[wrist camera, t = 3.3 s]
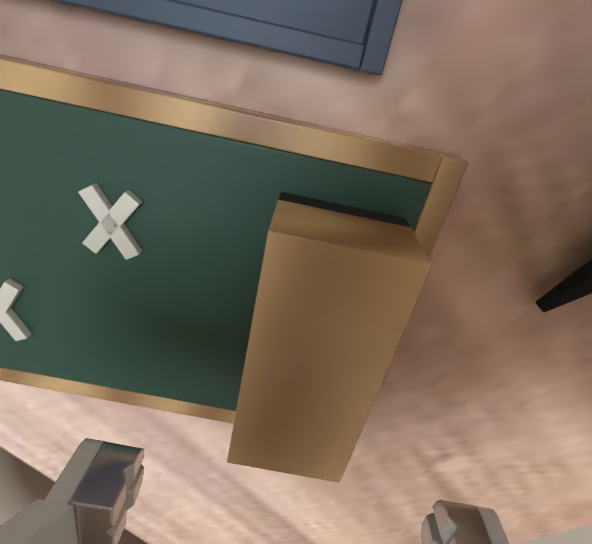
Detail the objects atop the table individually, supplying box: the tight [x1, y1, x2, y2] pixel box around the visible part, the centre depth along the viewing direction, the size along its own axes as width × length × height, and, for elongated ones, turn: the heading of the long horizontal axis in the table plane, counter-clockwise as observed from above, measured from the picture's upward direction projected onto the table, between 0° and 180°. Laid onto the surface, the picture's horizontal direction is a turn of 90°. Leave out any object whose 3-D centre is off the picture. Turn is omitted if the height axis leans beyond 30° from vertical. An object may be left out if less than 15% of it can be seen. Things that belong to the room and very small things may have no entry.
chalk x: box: [78, 183, 142, 260], centre depth 16 cm, size 2×3×1 cm
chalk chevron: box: [0, 278, 32, 341], centre depth 18 cm, size 2×3×1 cm, turn 169°
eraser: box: [227, 192, 431, 482], centre depth 16 cm, size 5×11×4 cm, turn 169°
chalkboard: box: [0, 55, 468, 423], centre depth 17 cm, size 24×16×1 cm, turn 79°
